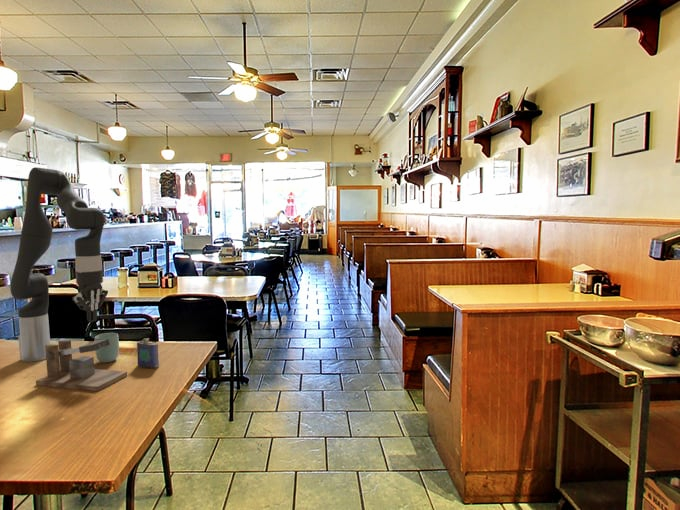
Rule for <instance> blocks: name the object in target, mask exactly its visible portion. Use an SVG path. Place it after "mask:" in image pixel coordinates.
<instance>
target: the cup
mask: <svg viewBox="0 0 680 510" xmlns="http://www.w3.org/2000/svg"><path fill="white" fill-rule="evenodd" d="M105 339H109V343H110V345H108V346H105V347H103V348H100V349H98V350H95V356H96V360H97V361H98V362H100V363H105V364H106V363H112V362H114V361H115V360H117V359H118V357H119V352H120V341H119V339H120V338H119V334H118V332H117V333H116V332H106V333H105V332H104V333H100V334H97V335H95V336H94V341H100V340H105Z"/></svg>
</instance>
